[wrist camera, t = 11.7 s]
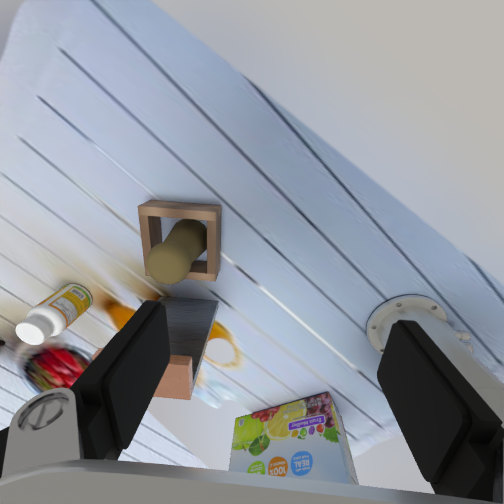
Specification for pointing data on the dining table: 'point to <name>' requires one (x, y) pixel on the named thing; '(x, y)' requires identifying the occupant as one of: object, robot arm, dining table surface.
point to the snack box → (294, 442)
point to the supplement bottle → (54, 314)
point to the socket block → (211, 213)
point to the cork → (177, 252)
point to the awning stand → (184, 344)
